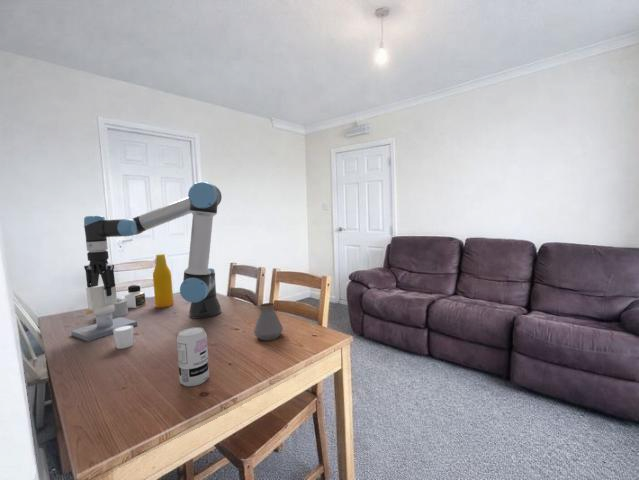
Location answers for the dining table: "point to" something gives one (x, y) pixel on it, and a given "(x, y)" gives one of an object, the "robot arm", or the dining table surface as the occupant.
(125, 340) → the shot glass
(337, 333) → the dining table surface
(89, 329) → the post plinth
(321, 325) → the dining table surface
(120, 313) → the lumpy-topped squat cylinder
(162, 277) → the beer bottle
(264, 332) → the coffee pot
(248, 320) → the dining table surface
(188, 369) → the supplement can
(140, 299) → the medicine bottle
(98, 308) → the white round-based slab
